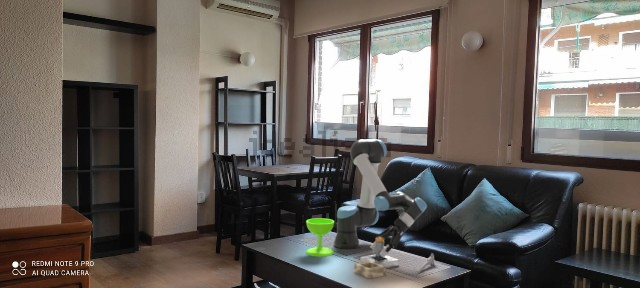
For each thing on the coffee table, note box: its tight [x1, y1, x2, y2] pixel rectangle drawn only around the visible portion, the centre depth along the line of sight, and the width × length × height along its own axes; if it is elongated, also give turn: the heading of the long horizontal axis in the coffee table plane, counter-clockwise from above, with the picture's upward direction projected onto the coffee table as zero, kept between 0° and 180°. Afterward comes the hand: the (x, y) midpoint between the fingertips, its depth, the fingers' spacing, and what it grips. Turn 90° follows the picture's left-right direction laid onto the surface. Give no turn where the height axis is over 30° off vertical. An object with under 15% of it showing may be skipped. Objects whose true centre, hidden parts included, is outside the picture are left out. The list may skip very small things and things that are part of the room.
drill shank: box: [374, 236, 385, 261], centre depth 237 cm, size 5×5×14 cm
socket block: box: [360, 254, 400, 269], centre depth 238 cm, size 14×14×3 cm
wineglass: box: [305, 217, 335, 258], centre depth 257 cm, size 16×16×18 cm
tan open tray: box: [353, 261, 387, 279], centre depth 222 cm, size 12×10×4 cm
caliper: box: [415, 252, 435, 275], centre depth 231 cm, size 20×1×6 cm, turn 143°
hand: (376, 252), depth 237 cm, fingers open, 13 cm apart
